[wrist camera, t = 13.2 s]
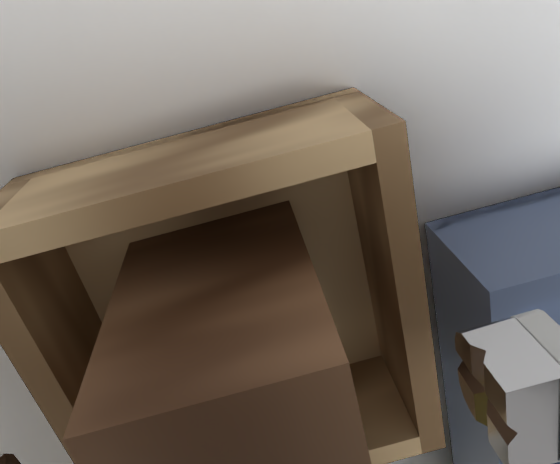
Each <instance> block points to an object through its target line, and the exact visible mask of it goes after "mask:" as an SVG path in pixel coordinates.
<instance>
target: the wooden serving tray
mask: <svg viewBox="0 0 560 464" xmlns="http://www.w3.org/2000/svg"><path fill="white" fill-rule="evenodd" d="M288 200H289V202H290V204H291V207H292V210H293V213H294V215H295V218H296V221H297V223H298V226H299V229H300V232H301V234H302V237H303V240H304V242H305V245H306V248H307V250H308V253H309V256H310V259H311V261H312V264H313V267H314V269H315V272H316V275H317V278H318V280H319V283H320V286H321V288H322V291H323V294H324V297H325V299H326V302H327V305H328V307H329V310H330V313H331V316H332V318H333V321H334V324H335V326H336V329H337V332H338V334H339V337H340V340H341V343H342V345H343V348H344V351H345V353H346V356H347V359H348V362H349V365H350V370H351V374H352V379H353V383H354V388H355V392H356V397H357V401H358V405H359V410H360V414H361V419H362V423H363V428H364V432H365V437H366V441H367V446H368V450H369V455H370V459H371V464H387V463H390V462H394V461H398V460H401V459H405V458H409V457H412V456H416V455H420V454H424V453H427V452H431V451H435V450H438V449H442V448H446V443H445V435H444V427H443V419H442V411H441V403H440V395H439V387H438V379H437V371H436V363H435V355H434V347H433V339H432V331H431V322H430V314H429V306H428V298H427V290H426V282H425V274H424V266H423V258H422V250H421V242H420V234H419V226H418V218H417V210H416V202H415V194H414V186H413V177H412V169H411V161H410V153H409V145H408V137H407V129H406V121H405V120H403V119H402V118H400V117H399V116H397V115H395V114H394V113H392V112H391V111H389V110H388V109H386V108H385V107H383V106H382V105H380V104H379V103H377V102H376V101H374V100H372V99H371V98H369V97H368V96H366V95H365V94H363V93H362V92H360V91H359V90H357V89H356V88H354V87H353V88H350V89H346V90H342V91H338V92H335V93H331V94H327V95H323V96H320V97H316V98H312V99H308V100H305V101H301V102H297V103H293V104H290V105H286V106H282V107H278V108H275V109H271V110H267V111H263V112H260V113H256V114H252V115H248V116H245V117H241V118H237V119H233V120H230V121H226V122H222V123H218V124H215V125H211V126H207V127H203V128H200V129H196V130H192V131H188V132H185V133H181V134H177V135H173V136H170V137H166V138H162V139H158V140H155V141H151V142H147V143H143V144H140V145H136V146H132V147H128V148H125V149H121V150H117V151H113V152H110V153H106V154H102V155H98V156H95V157H91V158H87V159H83V160H80V161H76V162H72V163H68V164H65V165H61V166H57V167H53V168H50V169H46V170H42V171H38V172H35V173H31V174H27V175H23V176H20V177H16V178H13V179H12V180H11V181H10V182H9V183H7V184H6V185H5V186H4V187H3V188H2V189H1V190H0V344H1V346H2V348H3V349H4V351H5V353H6V354H7V356H8V357H9V359H10V361H11V362H12V364H13V366H14V367H15V369H16V370H17V372H18V374H19V375H20V377H21V378H22V380H23V382H24V383H25V385H26V387H27V388H28V390H29V391H30V393H31V395H32V396H33V398H34V400H35V401H36V403H37V404H38V406H39V408H40V409H41V411H42V412H43V414H44V416H45V417H46V419H47V421H48V422H49V424H50V425H51V427H52V429H53V430H54V432H55V434H56V435H57V437H58V438H59V440H60V442H61V443H62V445H63V446H64V448H65V450H66V451H67V453H68V455H69V456H70V458H71V459H72V461H73V463H74V464H77V463H76V461H75V460H74V458H73V456H72V455H71V453H70V451H69V450H68V448H67V447H66V445H65V443H64V442H63V437H64V434H65V431H66V428H67V425H68V422H69V419H70V416H71V413H72V410H73V407H74V405H75V402H76V399H77V396H78V393H79V390H80V387H81V384H82V381H83V378H84V375H85V372H86V369H87V366H88V363H89V360H90V357H91V354H92V352H93V349H94V346H95V343H96V340H97V337H98V334H99V331H100V328H101V325H102V322H103V319H104V316H105V313H106V310H107V307H108V304H109V302H110V299H111V296H112V293H113V290H114V287H115V284H116V281H117V278H118V275H119V272H120V269H121V266H122V263H123V260H124V257H125V254H126V252H127V249H128V246H129V243H131V242H134V241H138V240H142V239H146V238H149V237H153V236H157V235H161V234H164V233H168V232H172V231H176V230H179V229H183V228H187V227H191V226H194V225H198V224H202V223H206V222H209V221H213V220H217V219H221V218H224V217H228V216H232V215H236V214H239V213H243V212H247V211H251V210H254V209H258V208H262V207H266V206H269V205H273V204H277V203H280V202H284V201H288Z"/></svg>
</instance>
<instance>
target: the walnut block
mask: <svg viewBox="0 0 560 464" xmlns="http://www.w3.org/2000/svg"><path fill="white" fill-rule="evenodd" d="M63 442H64V443H65V445H66V447H67V448H68V450H69V451H70V453H71V455H72V456H73V458H74V460H75V461H76V463H77V464H371V459H370V455H369V450H368V446H367V441H366V437H365V432H364V428H363V423H362V419H361V414H360V410H359V405H358V401H357V397H356V392H355V388H354V383H353V379H352V374H351V370H350V365H349V362H348V359H347V356H346V353H345V351H344V348H343V345H342V343H341V340H340V337H339V334H338V332H337V329H336V326H335V324H334V321H333V318H332V316H331V313H330V310H329V307H328V305H327V302H326V299H325V297H324V294H323V291H322V288H321V286H320V283H319V280H318V278H317V275H316V272H315V269H314V267H313V264H312V261H311V259H310V256H309V253H308V250H307V248H306V245H305V242H304V240H303V237H302V234H301V232H300V229H299V226H298V223H297V221H296V218H295V215H294V213H293V210H292V207H291V204H290V202H289V200H288V201H284V202H280V203H277V204H273V205H269V206H266V207H262V208H258V209H254V210H251V211H247V212H243V213H239V214H236V215H232V216H228V217H224V218H221V219H217V220H213V221H209V222H206V223H202V224H198V225H194V226H191V227H187V228H183V229H179V230H176V231H172V232H168V233H164V234H161V235H157V236H153V237H149V238H146V239H142V240H138V241H134V242H131V243H129V246H128V249H127V252H126V254H125V257H124V260H123V263H122V266H121V269H120V272H119V275H118V278H117V281H116V284H115V287H114V290H113V293H112V296H111V299H110V302H109V304H108V307H107V310H106V313H105V316H104V319H103V322H102V325H101V328H100V331H99V334H98V337H97V340H96V343H95V346H94V349H93V352H92V354H91V357H90V360H89V363H88V366H87V369H86V372H85V375H84V378H83V381H82V384H81V387H80V390H79V393H78V396H77V399H76V402H75V405H74V407H73V410H72V413H71V416H70V419H69V422H68V425H67V428H66V431H65V434H64V437H63Z"/></svg>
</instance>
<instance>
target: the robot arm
mask: <svg viewBox="0 0 560 464" xmlns="http://www.w3.org/2000/svg"><path fill="white" fill-rule="evenodd" d="M455 350H456V351H457V353H458V354H459V356H460V357H461V359H462V360H463V361H462V362H461V364H460V365H459V367H458V369H457V370H458V377H459V384H460V387H461V390H462V393H463V397H464V399H465V401H466V403H467V405H468V408H469V410H470V411H471V413H472V415H473V416H474V418H475V420H476V421H478V422H480V423H482V424H483V425H485V426H487V427H488V438H489V442H490V444H491V446H492V447H493V449H494V450H495V452H496V454H497V455H498V457H499V458H500V460H501V462H502V463H503V464H553V463H557V462H560V326H559V325H558V324H557V323H556V322H555V321H554V320H553V319H552V318H551V317H550V316H549V315H548V314H547V313H546V312H544V311H543V310H540V309H535V310H532V311H528V312H525V313H521V314H518V315H514V316H511V317H510V318H505V319H501V320H498V321H494V322H491V323H487V324H483V325H480V326H476V327H473V328H469V329H465V330H462V331H458V332H456V334H455ZM0 464H21V463H20V462H19V461H18V459H17V458H16V457H15V456H14V454H1V455H0Z"/></svg>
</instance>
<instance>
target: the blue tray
mask: <svg viewBox="0 0 560 464" xmlns="http://www.w3.org/2000/svg"><path fill="white" fill-rule="evenodd" d="M425 226H426V234H427V243H428V251H429V260H430V268H431V277H432V286H433V294H434V303H435V311H436V320H437V328H438V337H439V345H440V354H441V362H442V371H443V379H444V388H445V397H446V405H447V414H448V422H449V431H450V439H451V448H452V456H453V464H503V463H502V462H501V460H500V458H499V457H498V455H497V454H496V452H495V450H494V449H493V447H492V446H491V444H490V442H489V438H488V427H487V426H485V425H483V424H482V423H480V422H478V421H476V420H475V418H474V416H473V415H472V413H471V411H470V410H469V408H468V405H467V403H466V401H465V399H464V397H463V393H462V390H461V387H460V384H459V377H458V370H457V369H458V367H459V365H460V364H461V362H462V361H463V360H462V359H461V357H460V356H459V354H458V353H457V351H456V350H455V334H456V332H458V331H462V330H465V329H469V328H473V327H476V326H480V325H483V324H487V323H491V322H494V321H498V320H501V319H505V318H510V317H511V316H514V315H518V314H521V313H525V312H528V311H532V310H535V309H540V310H543V311H544V312H546V313H547V314H548V315H549V316H550V317H551V318H552V319H553V320H554V321H555V322H556V323H557V324H558V325H559V326H560V187H558V188H554V189H550V190H547V191H543V192H539V193H535V194H532V195H528V196H524V197H521V198H517V199H513V200H509V201H506V202H502V203H498V204H495V205H491V206H487V207H483V208H480V209H476V210H472V211H468V212H465V213H461V214H457V215H454V216H450V217H446V218H442V219H439V220H435V221H431V222H427V223H425ZM553 464H560V462H557V463H553Z"/></svg>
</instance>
